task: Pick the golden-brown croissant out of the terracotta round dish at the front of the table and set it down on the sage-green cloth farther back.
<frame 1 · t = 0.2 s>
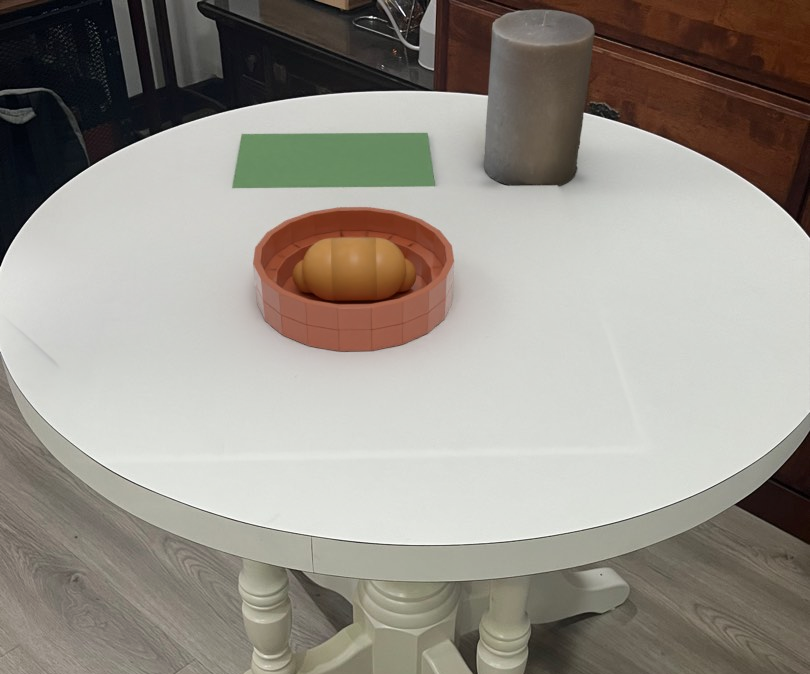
terracotta round dish: (355, 302, 84), on the table
pillar candle: (528, 170, 102), on the table
cloth: (334, 163, 103), on the table
croissant: (355, 295, 84), point 1 cm above the table, touching terracotta round dish
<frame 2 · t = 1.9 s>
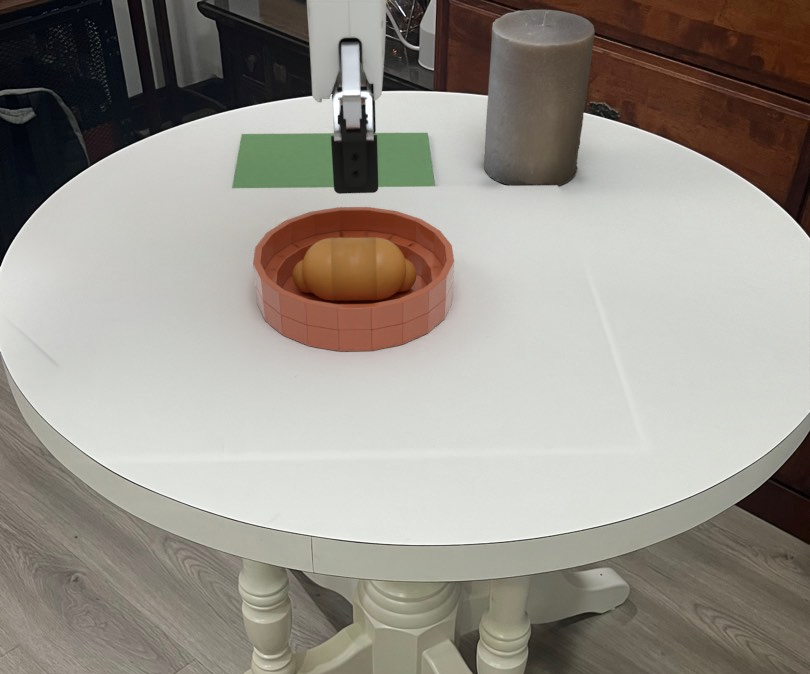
hand: (355, 161, 75), 12 cm above the table, tool pointing down, fingers open, 9 cm apart
nothing on the table moved.
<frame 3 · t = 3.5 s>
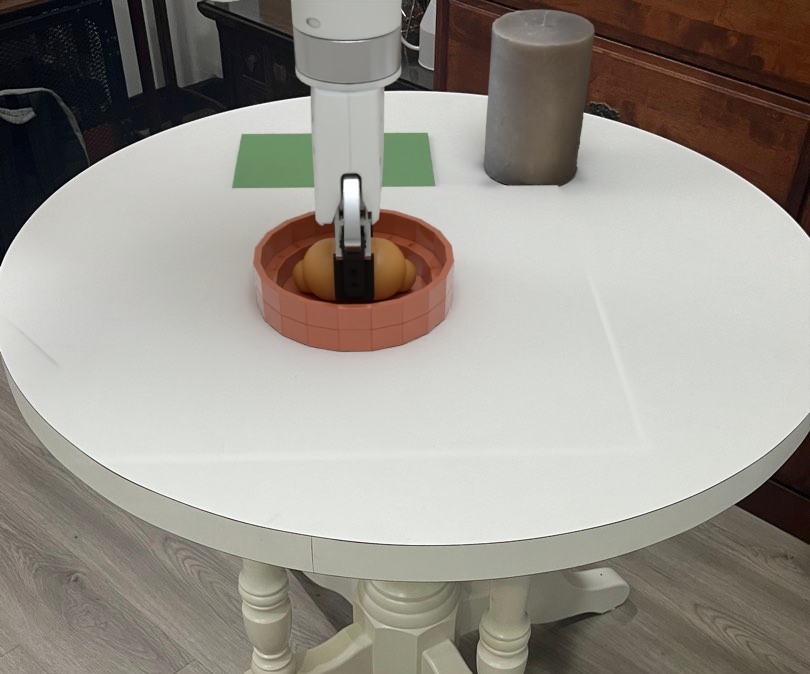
hand: (354, 278, 82), 2 cm above the table, tool pointing down, fingers closed on croissant, 5 cm apart
croissant: (355, 295, 84), point 1 cm above the table, touching gripper, terracotta round dish
everything else where it was.
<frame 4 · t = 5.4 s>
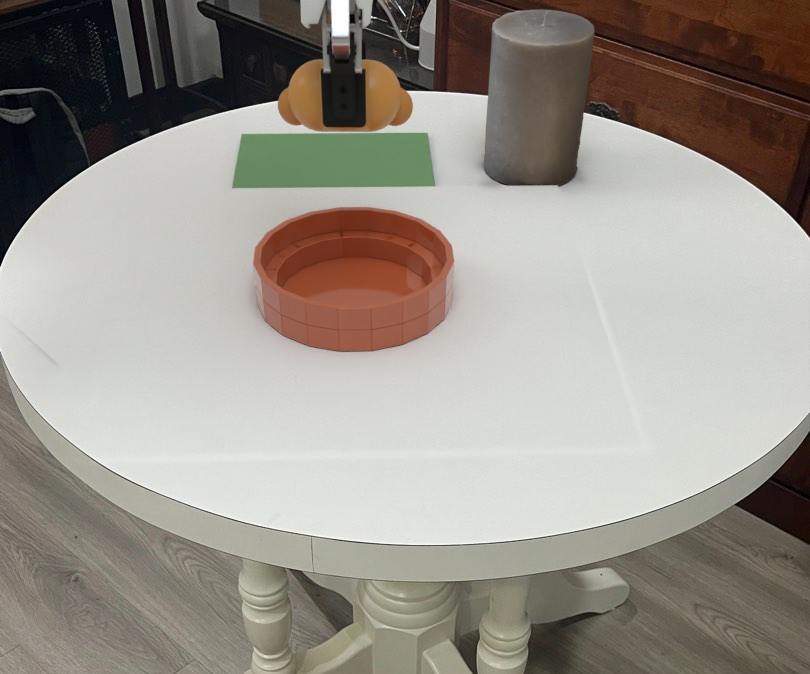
hand: (345, 107, 76), 15 cm above the table, tool pointing down, fingers closed on croissant, 5 cm apart
croissant: (345, 129, 77), point 13 cm above the table, touching gripper
everything else where it was.
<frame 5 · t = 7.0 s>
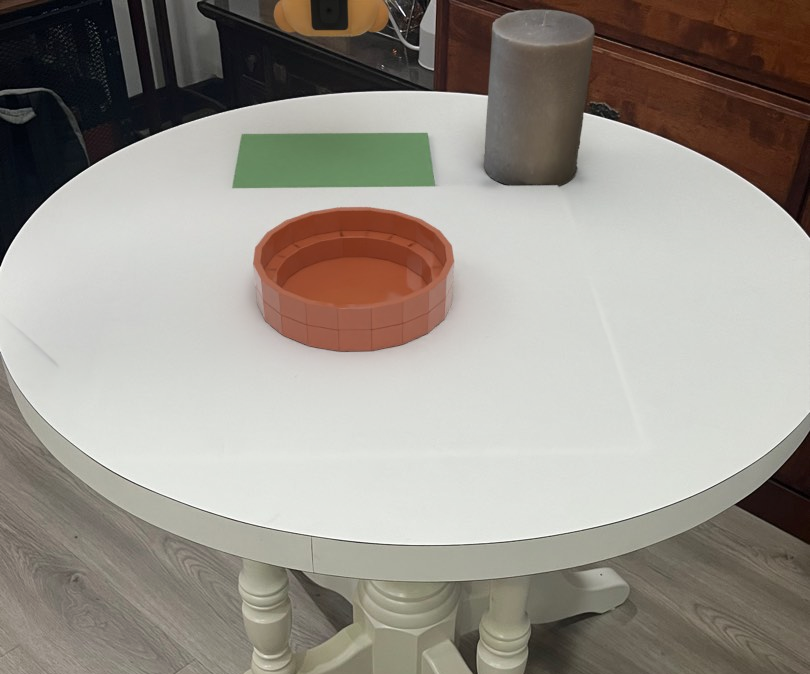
hand: (330, 15, 89), 15 cm above the table, tool pointing down, fingers closed on croissant, 5 cm apart
croissant: (331, 34, 90), point 14 cm above the table, touching gripper
everything else where it was.
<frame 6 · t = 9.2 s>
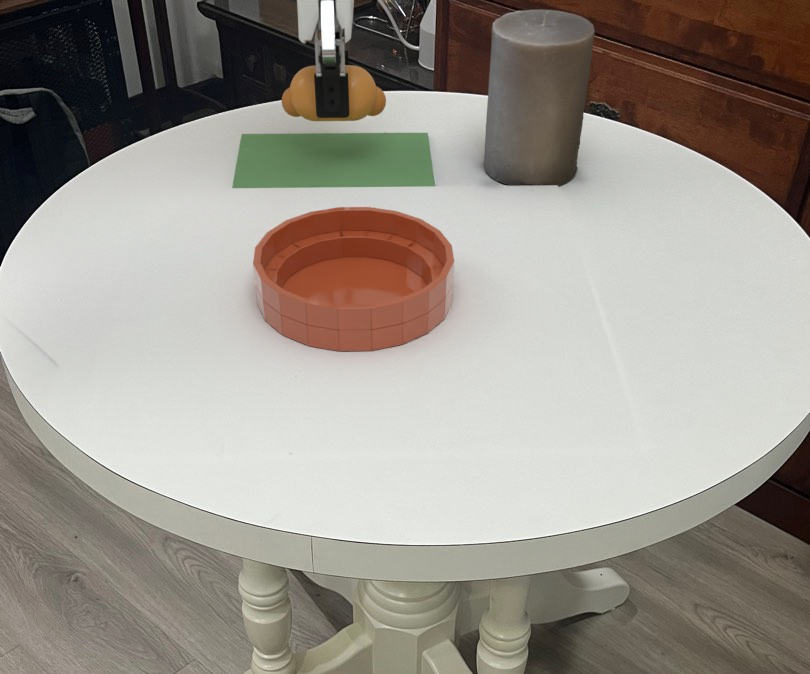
hand: (333, 102, 98), 6 cm above the table, tool pointing down, fingers closed on croissant, 5 cm apart
croissant: (334, 119, 99), point 5 cm above the table, touching gripper
everything else where it was.
when the fingers open (2 cm above the table, at t = 10.7 s): croissant stays where it is, resting on cloth.
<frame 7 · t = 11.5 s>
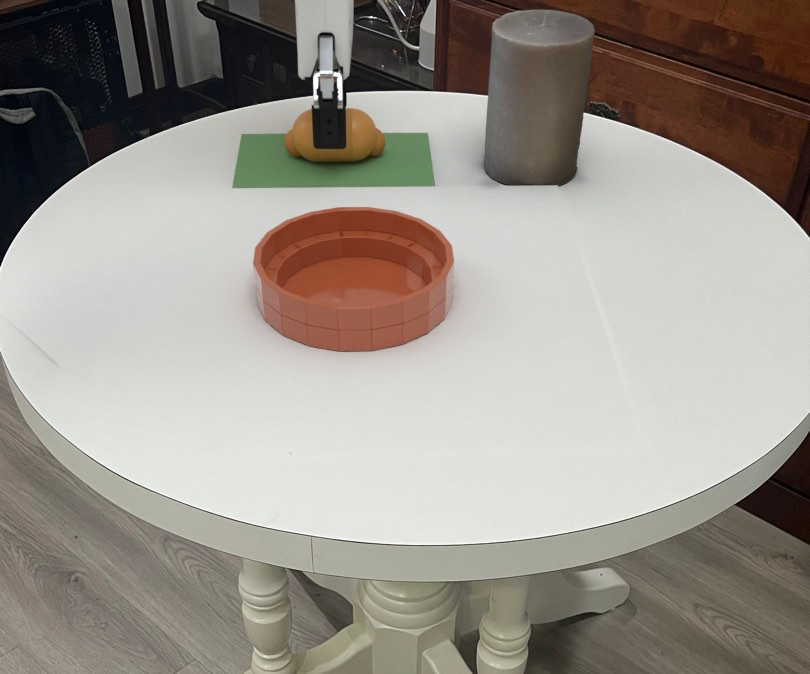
hand: (330, 127, 100), 4 cm above the table, tool pointing down, fingers open, 9 cm apart
croissant: (335, 159, 102), resting on cloth
everything else where it was.
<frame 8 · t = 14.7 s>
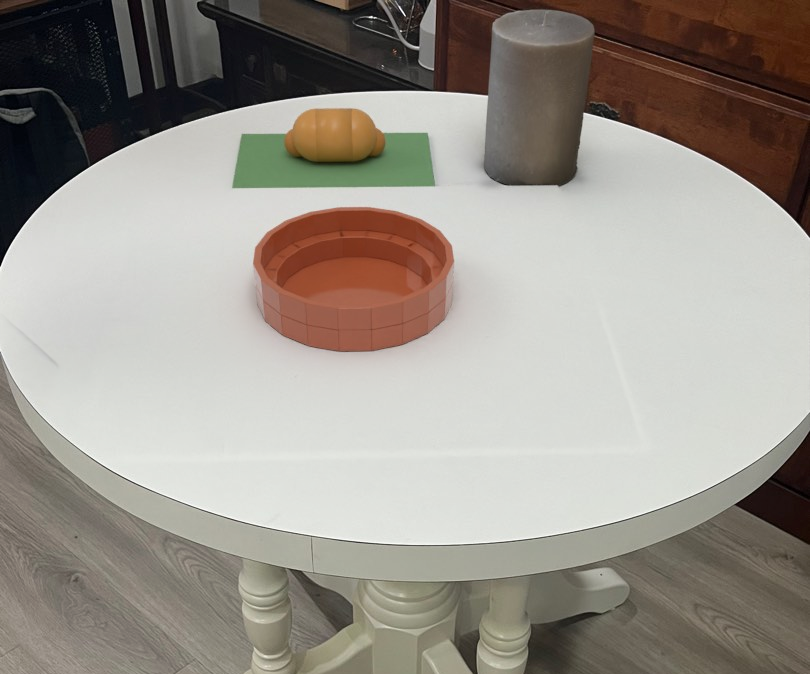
nothing on the table moved.
at the end: croissant inside the target area on the cloth (0.1 cm from its centre), point 0.4 cm above the cloth's base; the gripper is holding nothing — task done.
